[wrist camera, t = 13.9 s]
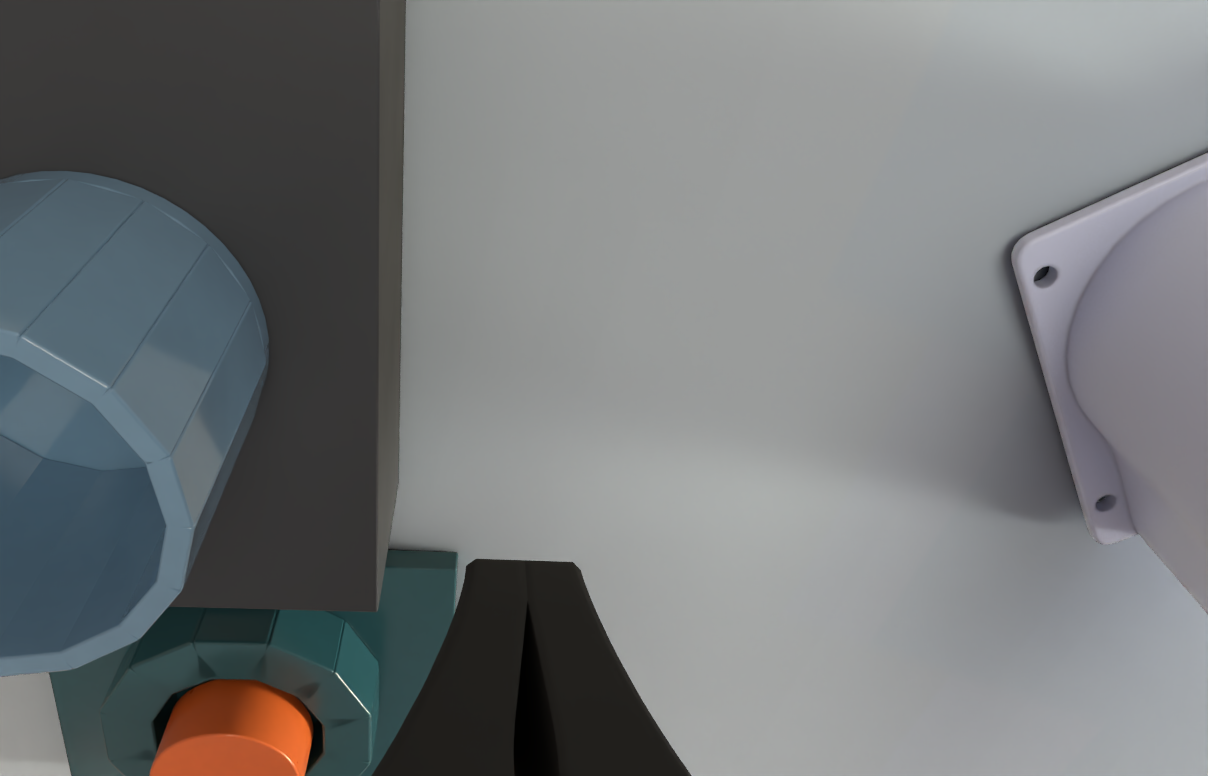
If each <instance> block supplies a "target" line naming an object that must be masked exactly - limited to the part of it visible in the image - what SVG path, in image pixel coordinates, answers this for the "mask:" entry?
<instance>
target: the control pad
mask: <svg viewBox="0 0 1208 776" xmlns="http://www.w3.org/2000/svg"><path fill="white" fill-rule="evenodd" d="M457 565H458V553H457V552H437V551H408V550H388V552H387V558H386V564H385V570H384V577H383V583H382V589H381V595H380V602H379V608H378V611H377V612H354V611H317V610H280V609H243V608H205V607H168V608H167V609H166V610H165V611H164V612H163V614H162V615H161V616H160V617H159V618H158V619H157V620H156V622H155V623H154V624H153V625H152V626H151V627H150V628H149V630H148V631H147V632H146V633H145V634H144V635H143V636H142V637H141V638H140V639H138V640H137V641H136V642H134V643H131V644H129V645H127V646H125V647H122V648H120V649H118V650H116V651H114V652H111V653H109V654H107V655H105V656H102V657H100V658H98V659H96V660H94V661H91V662H89V663H87V664H85V665H82V666H80V667H78V668H76V669H71V670H66V671H56V672H49V674H50V679H51V683H52V688H53V692H54V697H55V702H56V706H57V711H58V716H59V720H60V725H61V729H62V734H63V739H64V743H65V748H66V752H67V757H68V762H69V766H70V771H71V776H149V775H150V769H151V767H152V764H153V761H154V759H155V756H156V753H157V750H158V748H159V745H160V742H161V740H162V737H163V734H164V732H165V729H166V726H167V723H168V721H169V718H170V715H171V713H172V710H173V708H174V706H175V704H176V703H177V701H178V700H179V699H180V698H181V697H182V696H183V695H184V694H185V693H187V692H188V691H189V690H191V689H192V688H194V687H196V686H198V685H200V684H202V683H205V682H208V681H211V680H216V679H226V680H257V681H259V682H262V683H264V684H267V685H269V686H272V687H274V688H277V689H279V690H281V691H284V692H286V693H289V694H291V695H294V696H295V697H297V698H298V699H299V700H300V701H301V702H302V703H303V705H304V706H305V707H306V709H307V710H308V712H309V714H310V716H311V719H312V722H313V728H314V731H313V739H312V744H311V748H310V753H309V758H308V763H307V768H306V772H305V776H372V774H373V773H374V771H375V769H376V768H377V766H378V765H379V763H380V761H381V760H382V758H383V757H384V755H385V753H386V752H387V750H388V748H389V747H390V745H391V743H392V742H393V740H394V738H395V737H396V735H397V733H398V731H399V729H400V728H401V726H402V724H403V722H404V720H405V718H406V717H407V715H408V713H409V711H410V709H411V708H412V706H413V704H414V702H415V700H416V698H417V697H418V695H419V693H420V691H421V689H422V687H423V685H424V683H425V681H426V679H427V677H428V675H429V673H430V670H431V668H432V666H433V664H434V662H435V659H436V657H437V655H438V653H439V651H440V648H441V646H442V644H443V642H444V640H445V637H446V635H447V632H448V630H449V627H450V624H451V622H452V619H453V617H454V614H455V603H456V584H457Z"/></svg>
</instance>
